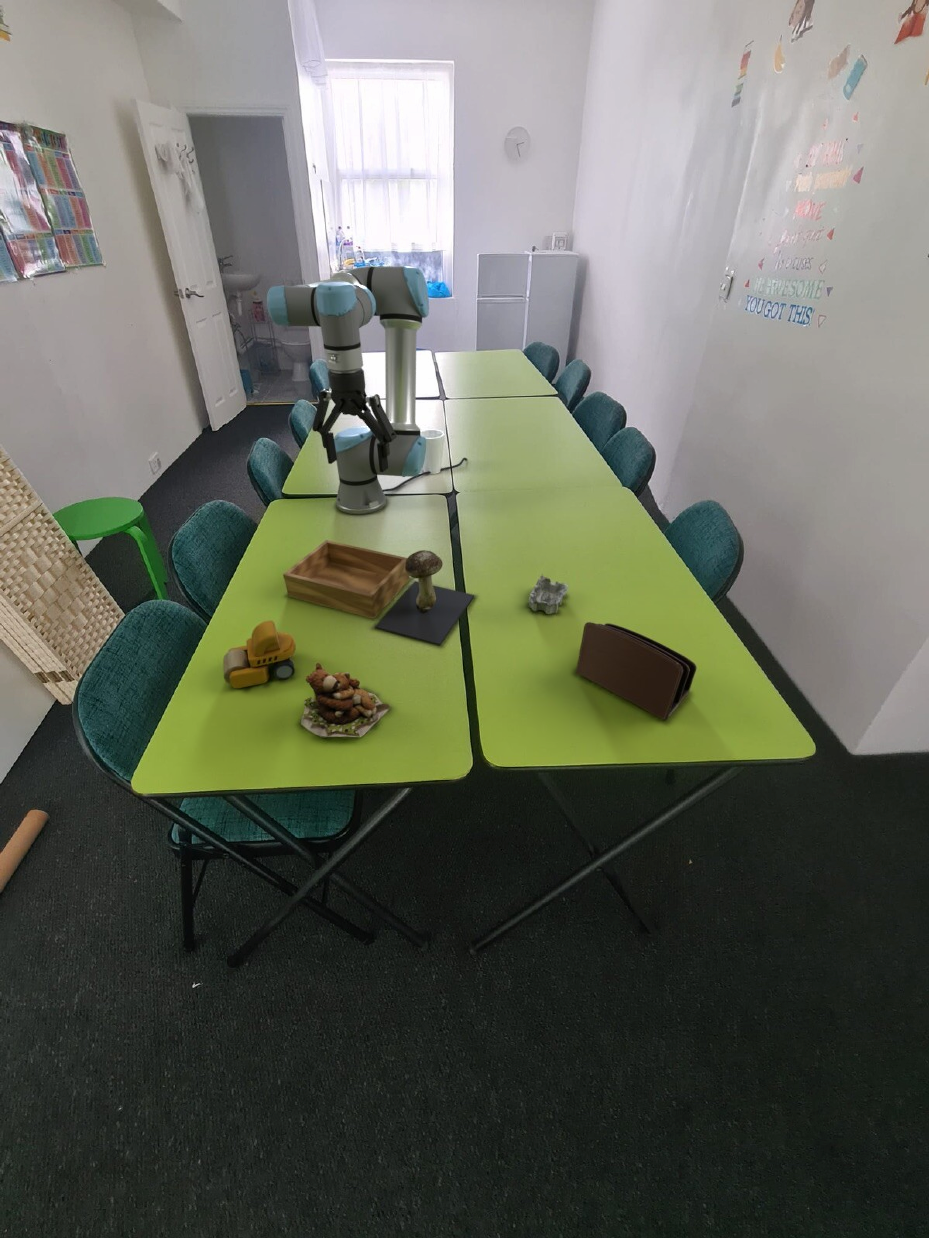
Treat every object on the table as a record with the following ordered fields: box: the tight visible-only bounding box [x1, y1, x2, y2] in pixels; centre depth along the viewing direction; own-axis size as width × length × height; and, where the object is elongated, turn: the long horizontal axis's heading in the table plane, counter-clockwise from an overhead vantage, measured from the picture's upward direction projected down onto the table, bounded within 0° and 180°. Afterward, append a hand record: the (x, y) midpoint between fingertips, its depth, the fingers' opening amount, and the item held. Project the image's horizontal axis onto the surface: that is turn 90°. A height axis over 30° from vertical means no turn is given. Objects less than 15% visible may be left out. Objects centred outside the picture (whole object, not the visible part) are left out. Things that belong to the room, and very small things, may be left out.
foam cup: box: [420, 428, 445, 475], centre depth 194 cm, size 10×9×13 cm
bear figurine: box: [300, 662, 391, 739], centre depth 101 cm, size 14×15×12 cm
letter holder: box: [575, 621, 698, 722], centre depth 107 cm, size 10×20×14 cm, turn 48°
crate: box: [282, 539, 411, 620], centre depth 137 cm, size 18×24×6 cm
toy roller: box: [222, 619, 297, 689], centre depth 111 cm, size 9×14×10 cm, turn 111°
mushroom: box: [405, 549, 444, 612], centre depth 125 cm, size 9×9×15 cm
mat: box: [374, 580, 475, 647], centre depth 130 cm, size 20×16×1 cm
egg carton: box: [528, 574, 569, 615], centre depth 132 cm, size 11×8×4 cm
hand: (358, 465), depth 130 cm, fingers open, 13 cm apart
